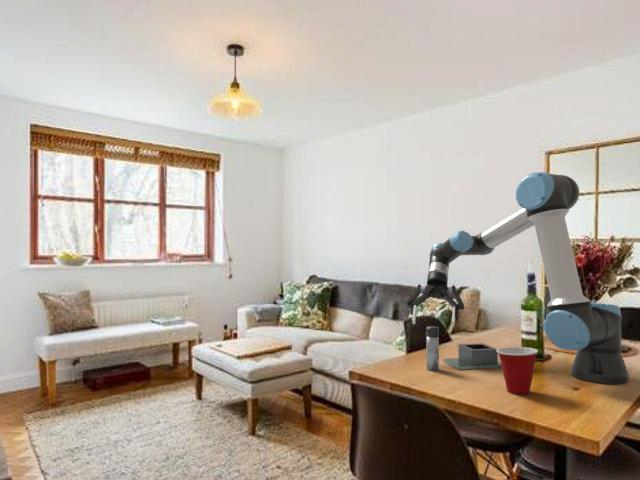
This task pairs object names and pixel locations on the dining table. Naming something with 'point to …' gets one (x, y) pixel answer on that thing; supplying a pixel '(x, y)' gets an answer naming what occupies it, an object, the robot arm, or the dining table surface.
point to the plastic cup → (517, 368)
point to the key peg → (432, 348)
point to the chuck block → (474, 357)
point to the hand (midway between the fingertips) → (433, 323)
